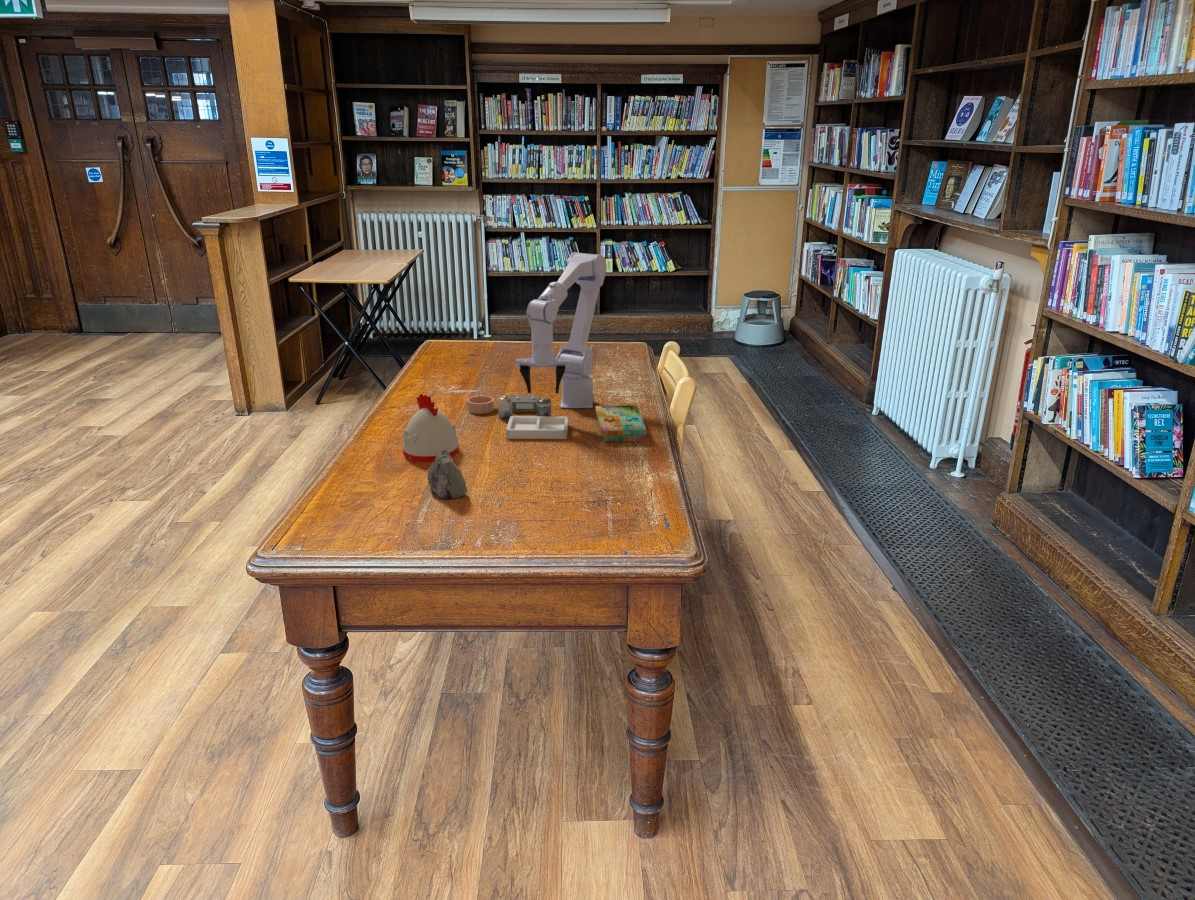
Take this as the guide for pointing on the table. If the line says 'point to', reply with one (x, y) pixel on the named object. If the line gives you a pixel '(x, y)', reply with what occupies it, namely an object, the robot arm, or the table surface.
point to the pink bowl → (480, 404)
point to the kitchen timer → (428, 433)
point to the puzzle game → (620, 423)
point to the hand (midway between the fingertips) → (543, 392)
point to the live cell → (543, 407)
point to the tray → (537, 427)
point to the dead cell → (505, 407)
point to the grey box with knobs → (524, 403)
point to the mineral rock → (446, 477)
